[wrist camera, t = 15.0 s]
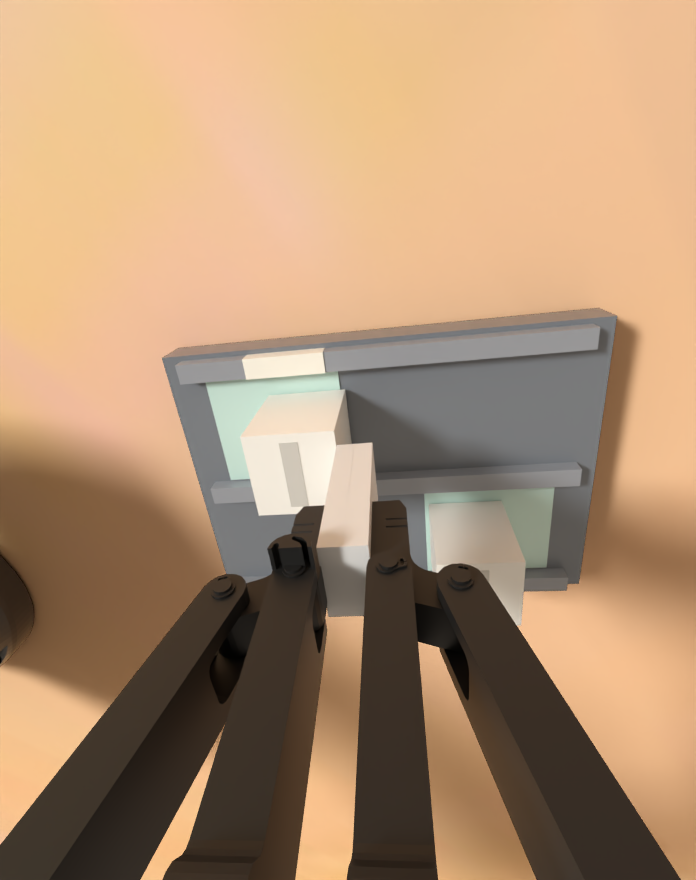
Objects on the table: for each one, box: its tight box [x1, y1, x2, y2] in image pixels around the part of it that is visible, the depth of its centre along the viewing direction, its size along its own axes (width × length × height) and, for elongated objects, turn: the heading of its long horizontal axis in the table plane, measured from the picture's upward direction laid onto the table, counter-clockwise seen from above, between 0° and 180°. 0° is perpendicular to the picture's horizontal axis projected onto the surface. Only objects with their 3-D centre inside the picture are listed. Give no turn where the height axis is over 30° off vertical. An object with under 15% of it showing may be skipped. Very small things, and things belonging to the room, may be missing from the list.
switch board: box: [162, 308, 617, 591], centre depth 26 cm, size 22×16×3 cm
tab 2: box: [429, 501, 526, 625], centre depth 24 cm, size 4×4×5 cm
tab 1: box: [240, 389, 352, 516], centre depth 22 cm, size 4×4×5 cm
